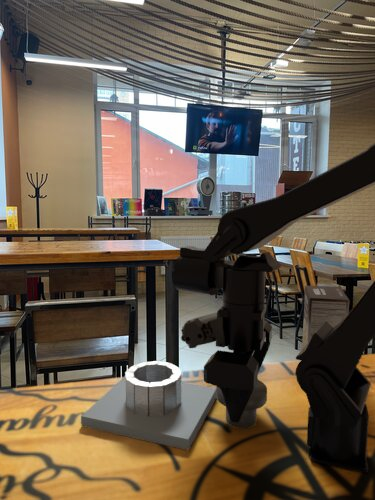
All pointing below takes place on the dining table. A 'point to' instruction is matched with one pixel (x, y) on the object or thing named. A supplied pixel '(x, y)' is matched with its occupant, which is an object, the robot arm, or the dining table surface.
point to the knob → (247, 406)
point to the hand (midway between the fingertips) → (241, 404)
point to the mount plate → (152, 428)
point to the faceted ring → (153, 388)
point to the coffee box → (323, 309)
